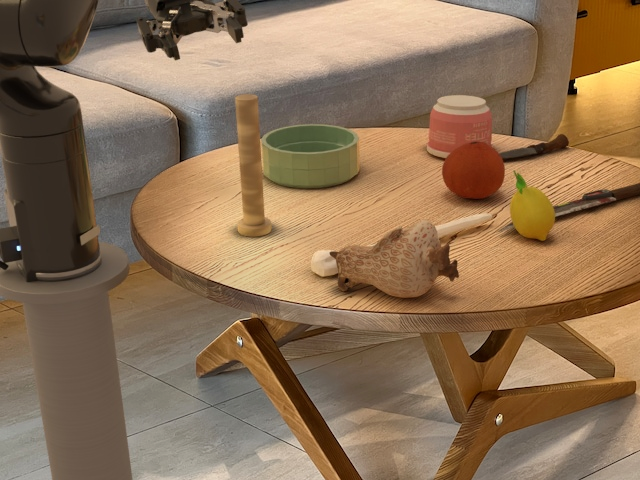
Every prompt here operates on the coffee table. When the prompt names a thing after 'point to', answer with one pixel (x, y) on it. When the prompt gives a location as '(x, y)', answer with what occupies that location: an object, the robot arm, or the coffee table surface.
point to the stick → (250, 167)
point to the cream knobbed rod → (327, 264)
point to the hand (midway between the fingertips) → (207, 44)
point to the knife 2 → (592, 200)
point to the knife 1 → (537, 148)
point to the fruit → (473, 170)
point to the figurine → (398, 262)
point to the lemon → (531, 211)
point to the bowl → (310, 155)
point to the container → (458, 124)
